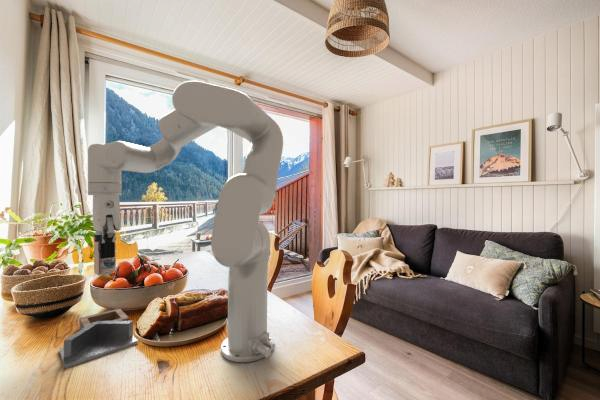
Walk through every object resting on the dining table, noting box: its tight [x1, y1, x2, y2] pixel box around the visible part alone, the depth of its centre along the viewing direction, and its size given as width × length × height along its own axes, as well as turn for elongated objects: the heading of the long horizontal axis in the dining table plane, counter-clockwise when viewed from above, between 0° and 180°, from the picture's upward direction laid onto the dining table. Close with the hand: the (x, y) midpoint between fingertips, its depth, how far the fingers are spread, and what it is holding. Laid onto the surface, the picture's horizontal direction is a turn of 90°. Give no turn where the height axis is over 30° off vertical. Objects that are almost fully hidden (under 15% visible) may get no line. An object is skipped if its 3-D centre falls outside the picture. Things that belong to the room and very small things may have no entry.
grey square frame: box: [78, 308, 130, 331], centre depth 75 cm, size 10×10×3 cm
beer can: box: [93, 230, 117, 276], centre depth 74 cm, size 5×5×12 cm
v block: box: [58, 320, 139, 370], centre depth 66 cm, size 10×14×5 cm
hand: (105, 255), depth 74 cm, fingers closed on beer can, 4 cm apart
